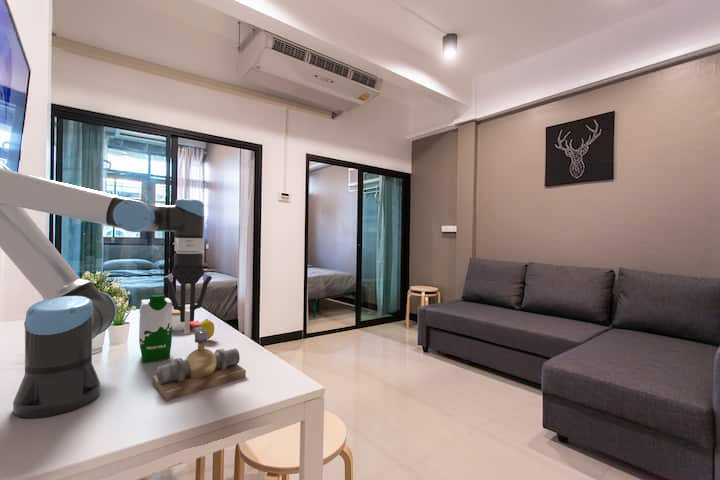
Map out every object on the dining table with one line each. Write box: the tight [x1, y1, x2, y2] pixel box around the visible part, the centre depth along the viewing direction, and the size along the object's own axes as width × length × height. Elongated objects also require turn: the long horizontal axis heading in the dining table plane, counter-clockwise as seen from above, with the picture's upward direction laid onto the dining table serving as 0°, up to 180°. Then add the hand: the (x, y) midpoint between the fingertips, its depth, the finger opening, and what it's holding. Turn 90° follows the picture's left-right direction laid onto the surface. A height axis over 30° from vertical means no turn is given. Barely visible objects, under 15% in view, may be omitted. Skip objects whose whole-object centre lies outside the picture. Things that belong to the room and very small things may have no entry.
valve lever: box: [189, 320, 209, 344], centre depth 97 cm, size 15×3×2 cm, turn 34°
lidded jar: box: [172, 306, 190, 332], centre depth 138 cm, size 11×11×9 cm
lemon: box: [200, 318, 215, 340], centre depth 124 cm, size 6×6×8 cm
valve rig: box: [151, 342, 247, 401], centre depth 92 cm, size 20×12×10 cm, turn 136°
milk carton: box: [138, 293, 173, 364], centre depth 107 cm, size 9×9×20 cm
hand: (186, 332), depth 100 cm, fingers closed
